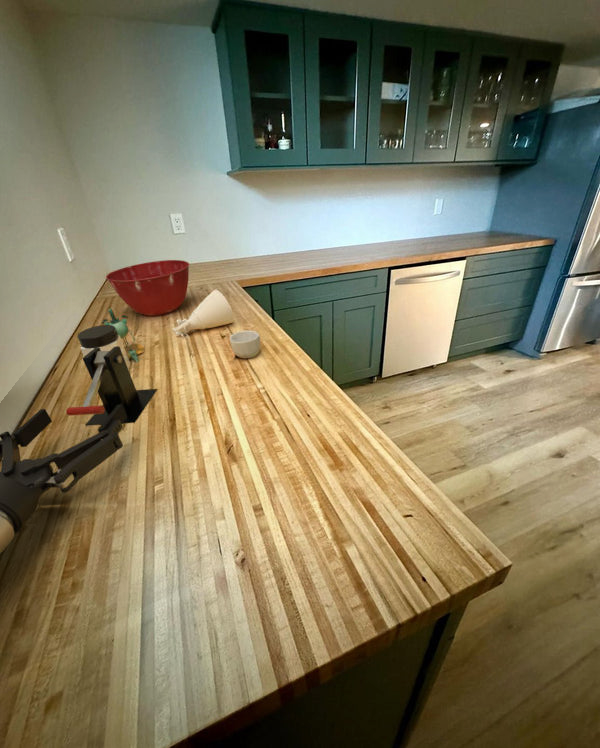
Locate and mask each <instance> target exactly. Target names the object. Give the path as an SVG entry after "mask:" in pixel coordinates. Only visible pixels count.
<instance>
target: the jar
mask: <svg viewBox="0 0 600 748" xmlns="http://www.w3.org/2000/svg"><path fill="white" fill-rule="evenodd" d="M76 337H77V339H78V342H79V344H80V346H81V347H80V351H81V353H82V355H83V357H84V356H86V355H87V354H88V353H89V352H90V351H92V350H93V349H94V348H100V350H101V351H110V350H111V349H112V348H114V347H116V346H119V347H120V349H121V352H122V354H123V357H124V360H125V362H126V365H127V367H128V370H130V367H131V361H130V359H128V356H127V353H126V351H125V348H124V347H125V346H124V345H125V344H124V343H123V339H121V337H120V335H118V333H117V330H116V328H115V327H114V326H112V325H104V324H100V325H95V326H91V327H88V328H86V329H83V330H81V331H80V332H79V333H78V334H77V336H76Z"/></svg>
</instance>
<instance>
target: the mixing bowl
mask: <svg viewBox="0 0 600 748" xmlns="http://www.w3.org/2000/svg"><path fill="white" fill-rule="evenodd" d="M189 267H190V263H189V262H188V261H186V260H182V259H166V260H155V261H148V262H142V263H138V264H133V265H129V266H124V267H121V268H119V269H116V270H114V271H111V272H109V273H108V274H107V275H106V276H105V279H106V280H107V281H108V282H109V284H110V285H111V287H112V288H113V289H114V292H116V294H117V295H118V296H119V297H120V299H121V300H122V301H123V302H124V303H125V304H126V305H127V306H128V307H130V309H131V310H132V311H134V312H136V313H138V314H140V315H141V314H142V315H143V314H144V316H147V317H157V316H163V315H168V314H169V313H172V312H174V311H177V310H178V309H179V307H180V306H181V305H183V303H184V301H185V299H186V296H187V291H188V286H189V276H190V275H189V273H190V271H189V269H190V268H189Z"/></svg>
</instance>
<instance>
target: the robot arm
mask: <svg viewBox="0 0 600 748" xmlns="http://www.w3.org/2000/svg"><path fill="white" fill-rule="evenodd" d="M126 418H127V415H126V413H125V411H124V408H123V406H122V405H117V406H116V407H115V409H114V410H113V411H112V412H111V414H110V415H109V416H108V417H107V418H106V420H105V421H104V422H103V423H102V425H99V427H98V428H97V431H98V433H96V434H94V435H92V436H90V437H88V438H86V439H84V440H82V441H80V442H78V443H77V444H74V445H73V446H71V447H69V448H67V449H65V450H63V451H61V452H60V453H56V452H53V453H50V454H49V455H47V456H44V457H42V458H41V457H40V458H34V459H31V458H24V459H21V451H20V447H21V448H26V447H27V446H28V445H29V444H31V443H32V442H33V441H34V440H35V439H36V438H37V437H38V436H39V435H40V434H41V433H42V432H43V431H44V430H45V429H46V428H47V427H48V426H49V425H50V424H51V423H53V421H52V418H51V417H50V415H49V413H48V411H47V409H46V408H41V409H39V410H37V412H36V413H35V414H33V416H31V417H30V418H29V419H28V420H27V421H26V422H25V423H23V424H22V425H20V426H19V427H18V429H16V430H15V431H14V432H12V434H10V432H9V431H4V432H2V433H0V464H1V468H0V555H1V554H2V553H3V551H5V549H6V548H7V547H8V545H9V544H10V543H11V541H12V540H13V539H14V537H15V535H16V534H18V533H19V532H20V531H21V530H22V529H23V527H24V526H25V525H26V524H27V522H28V521H29V520H30V519H31V517H32V516H34V514H35V512H36V511H37V509H38V506H39V502H40V499H41V496H42V495H43V494H44V493H45V492H47V491H49V490H50V489H51V488H53V489H59V490H60V491H61V493H62V494H65V493H68V492H69V491H71V490H72V488H74V486H75V485H76V484H77V483H78V482H79V481H80V480H81V479H82V478H83V477H85V476H86V475H87V474H89V473H90V472H91V471H93V470H95V468H97V467H98V466H99V465H101V464H102V463H104V462H105V461H106V460H107V459H109V458H110V457H111V456H112V455H114V454H116V452H118V451H119V450H121V449H122V448H123V446H124V444H123V441H122V440H121V438H120V435H119V433H120V432H121V430H122V429H123V424H124V423H123V422H124V421H125V419H126ZM19 446H20V447H19ZM52 463H54V465H55V466H56V468H57V470H56V471H54V468H53V466H52Z"/></svg>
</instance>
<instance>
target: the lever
mask: <svg viewBox="0 0 600 748" xmlns="http://www.w3.org/2000/svg"><path fill="white" fill-rule="evenodd" d="M108 352H109V351H98V353H97V355H96V358H95V360H94V364H95V365H96V366H97V370H96V372H95V375H94V378H93V380H92V379H91V383H90V386H89V388H88V391H87V393H86V396H85V397H84V400H83V403H82V406H69V407H67V409H66V410H65V411H66V415H67V416H71V417H72V416H87V415H88V416H89V415H94V414H103V413H104V411H105V408H104V406H102V405H103V404H102V405H101V404H100V405H94V402H95V400H96V397H97V394H98V389H99V387H100V384H101V381H102V379H103V376H104V373H105V370H109V369H108V367H107V365H106V362H105V360H104V356H105V355H106V354H107V353H108Z"/></svg>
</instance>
